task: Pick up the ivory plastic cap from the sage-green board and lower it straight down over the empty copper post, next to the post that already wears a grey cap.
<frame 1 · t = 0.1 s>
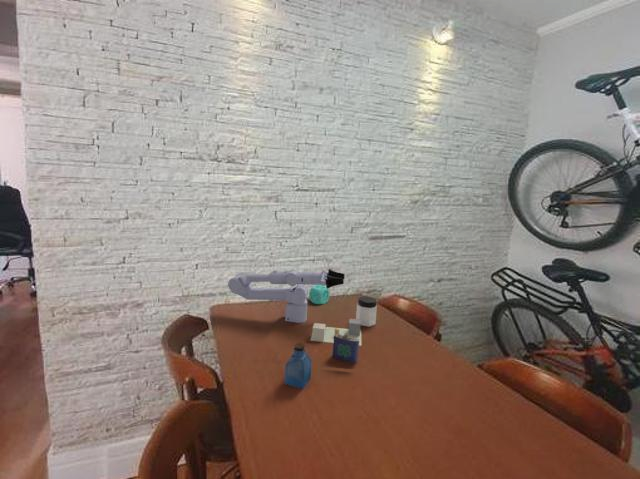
hand: (344, 278, 143), 22 cm above the table, tool horizontal, fingers open, 7 cm apart
board: (336, 337, 135), on the table
grey cap: (354, 332, 138), point 1 cm above the table, touching board
jar: (365, 324, 150), on the table
perfume bottle: (297, 381, 104), on the table
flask: (344, 361, 117), on the table
decorative dice: (319, 302, 176), on the table
ivory cap: (318, 337, 132), point 1 cm above the table, touching board
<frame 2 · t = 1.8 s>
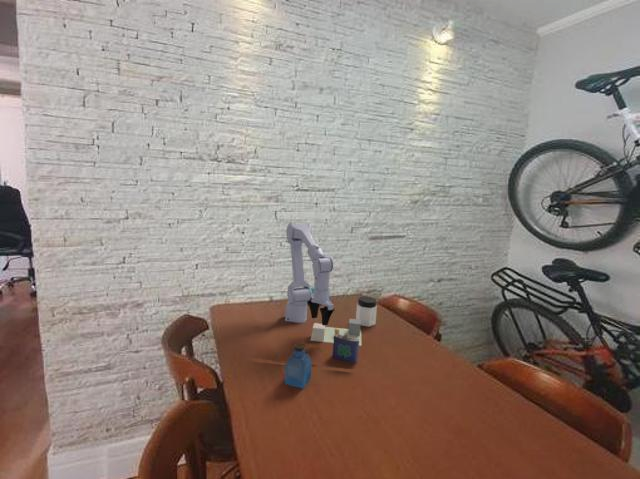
hand: (319, 321, 131), 8 cm above the table, tool pointing down, fingers open, 7 cm apart
nothing on the table moved.
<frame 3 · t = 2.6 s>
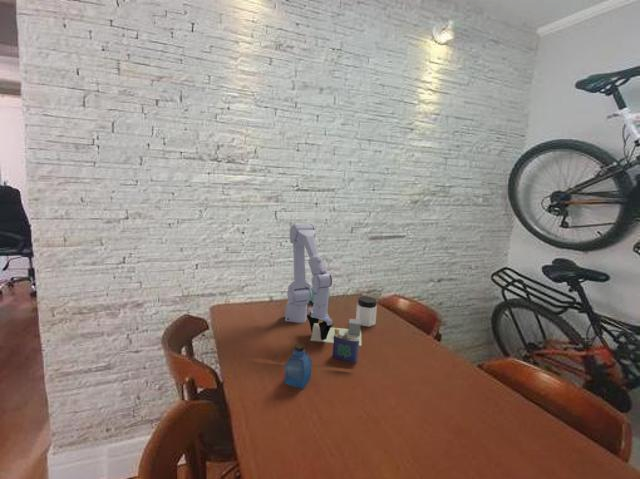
hand: (318, 335, 132), 2 cm above the table, tool pointing down, fingers closed on ivory cap, 6 cm apart
ivory cap: (318, 337, 132), point 1 cm above the table, touching board, gripper
everything else where it was.
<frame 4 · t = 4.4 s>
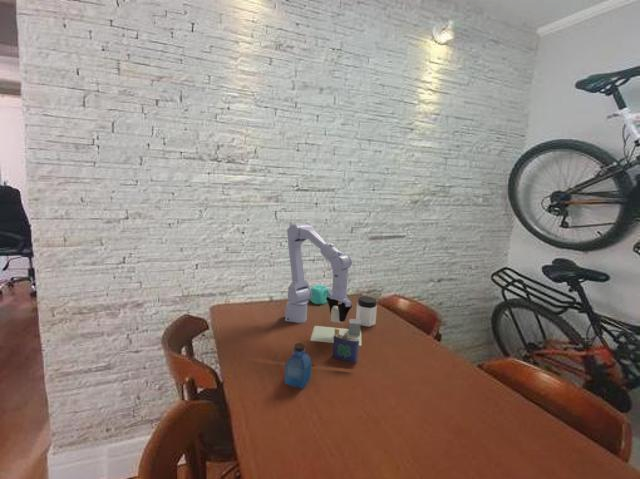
hand: (337, 317, 133), 9 cm above the table, tool pointing down, fingers closed on ivory cap, 6 cm apart
ivory cap: (337, 320, 133), point 8 cm above the table, touching gripper
everything else where it was.
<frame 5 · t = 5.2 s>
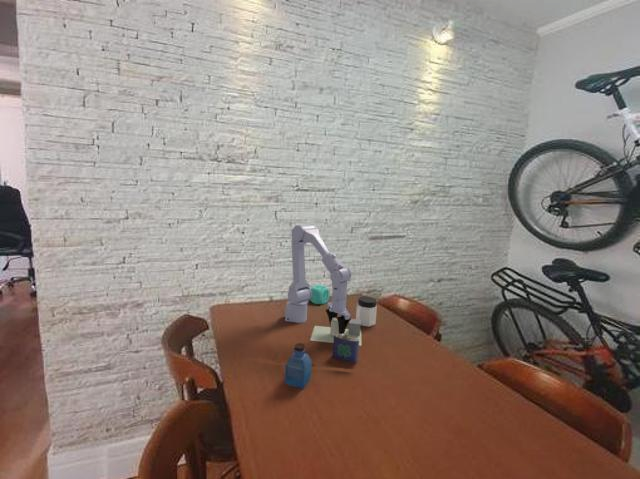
hand: (337, 329, 134), 4 cm above the table, tool pointing down, fingers closed on ivory cap, 6 cm apart
ivory cap: (336, 332, 134), point 3 cm above the table, touching gripper
everything else where it was.
when the fingers open (3 cm above the table, at t = 6.1 s): ivory cap stays where it is, resting on board.
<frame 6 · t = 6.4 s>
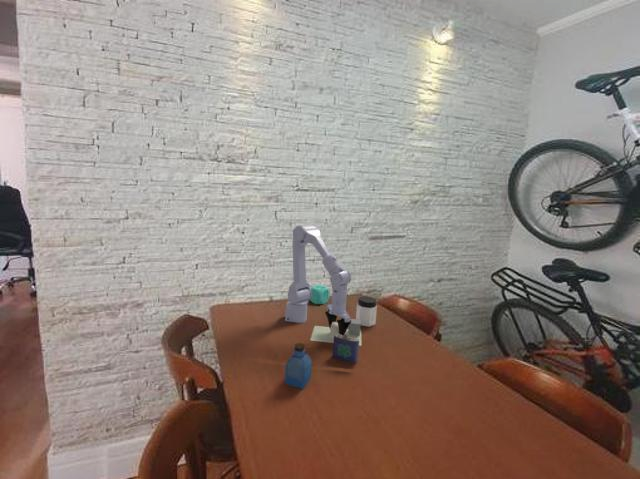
hand: (336, 332, 134), 3 cm above the table, tool pointing down, fingers open, 7 cm apart
ivory cap: (336, 336, 134), point 1 cm above the table, touching board
everything else where it was.
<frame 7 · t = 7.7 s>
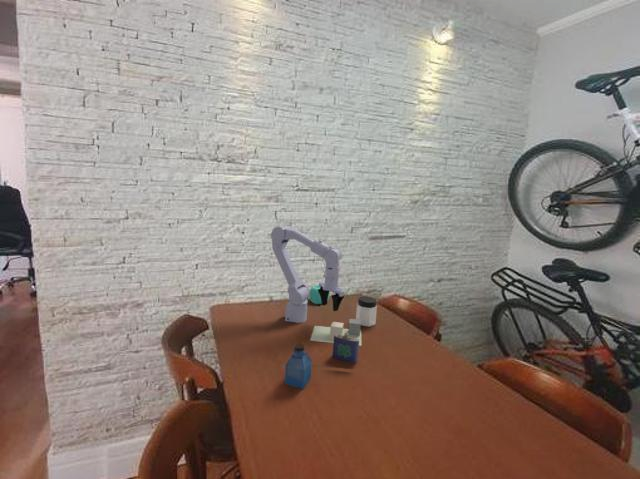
hand: (329, 307, 142), 9 cm above the table, tool pointing down, fingers open, 7 cm apart
nothing on the table moved.
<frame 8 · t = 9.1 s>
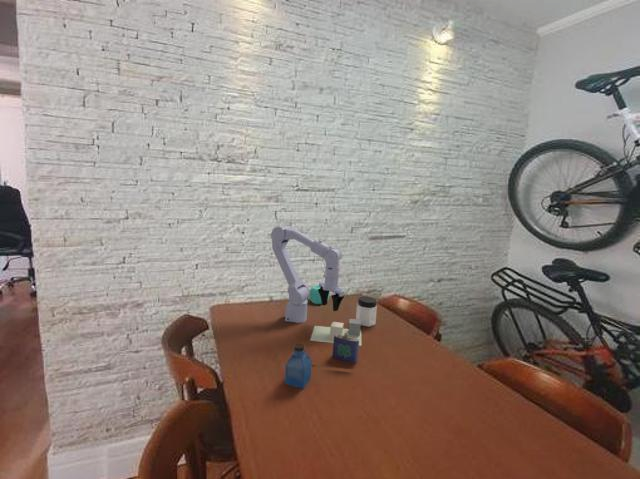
hand: (329, 307, 142), 9 cm above the table, tool pointing down, fingers open, 7 cm apart
nothing on the table moved.
at the end: ivory cap 0.1 cm from the target spot, point 1.0 cm above the table; ivory cap tilted 0°; the gripper is holding nothing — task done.
